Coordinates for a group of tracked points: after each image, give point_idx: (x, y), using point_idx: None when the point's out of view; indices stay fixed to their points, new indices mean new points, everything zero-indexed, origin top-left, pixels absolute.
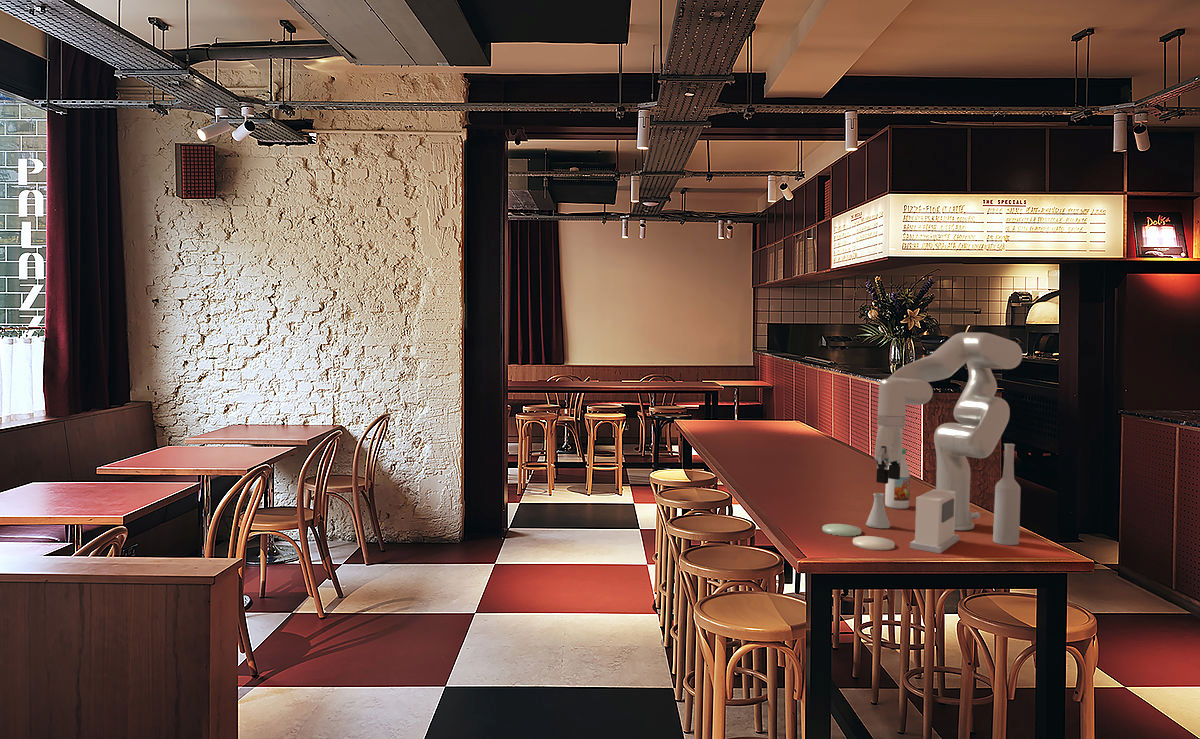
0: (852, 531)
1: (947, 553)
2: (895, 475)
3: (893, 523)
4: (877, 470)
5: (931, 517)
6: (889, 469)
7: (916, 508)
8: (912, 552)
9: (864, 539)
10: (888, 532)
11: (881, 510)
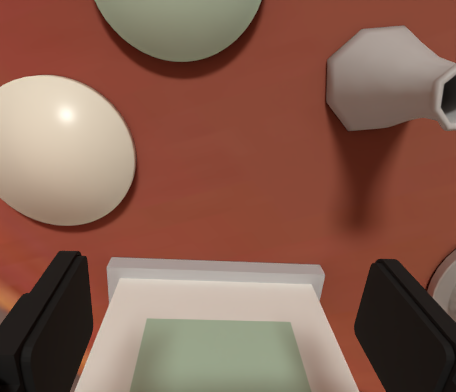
0: (148, 32)
1: None
2: (374, 331)
3: None
4: (2, 338)
5: None
6: (415, 322)
7: (80, 380)
8: None
9: (52, 120)
10: (287, 145)
11: (387, 109)
